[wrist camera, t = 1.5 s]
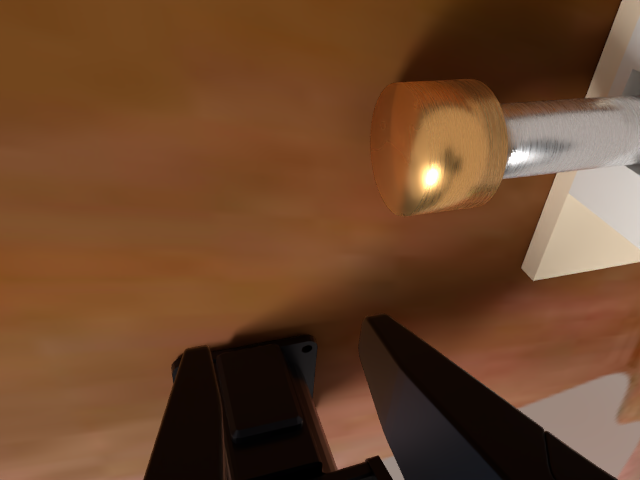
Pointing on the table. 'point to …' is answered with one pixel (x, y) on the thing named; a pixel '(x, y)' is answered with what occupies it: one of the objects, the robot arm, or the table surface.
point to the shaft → (488, 141)
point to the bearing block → (595, 181)
